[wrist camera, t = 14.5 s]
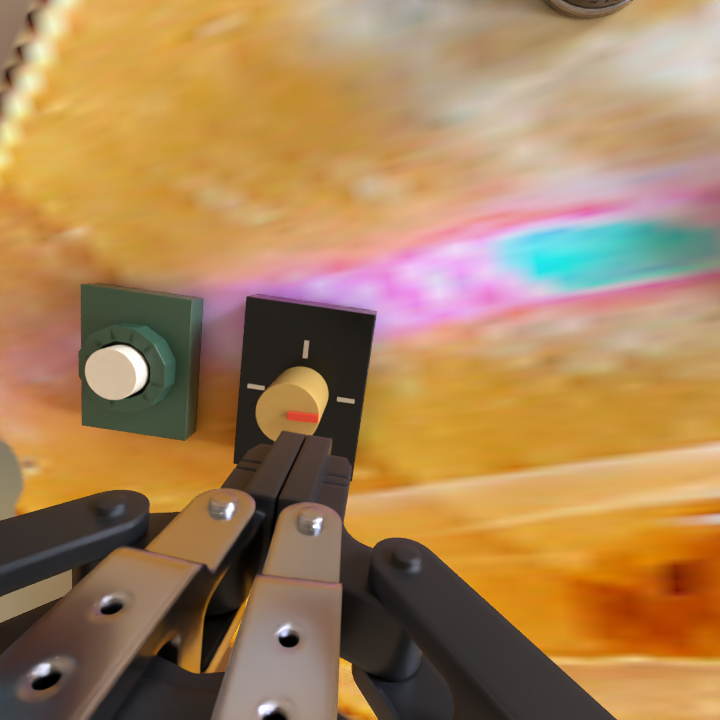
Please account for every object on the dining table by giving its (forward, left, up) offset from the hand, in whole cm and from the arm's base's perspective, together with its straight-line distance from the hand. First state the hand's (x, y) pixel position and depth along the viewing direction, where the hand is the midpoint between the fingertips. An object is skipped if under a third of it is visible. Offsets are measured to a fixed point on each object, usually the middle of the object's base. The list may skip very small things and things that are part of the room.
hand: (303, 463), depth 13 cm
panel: (+5, -3, -24) cm, 24 cm away
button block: (+5, -17, -24) cm, 30 cm away
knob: (+5, -3, -21) cm, 21 cm away
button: (+5, -17, -20) cm, 27 cm away
